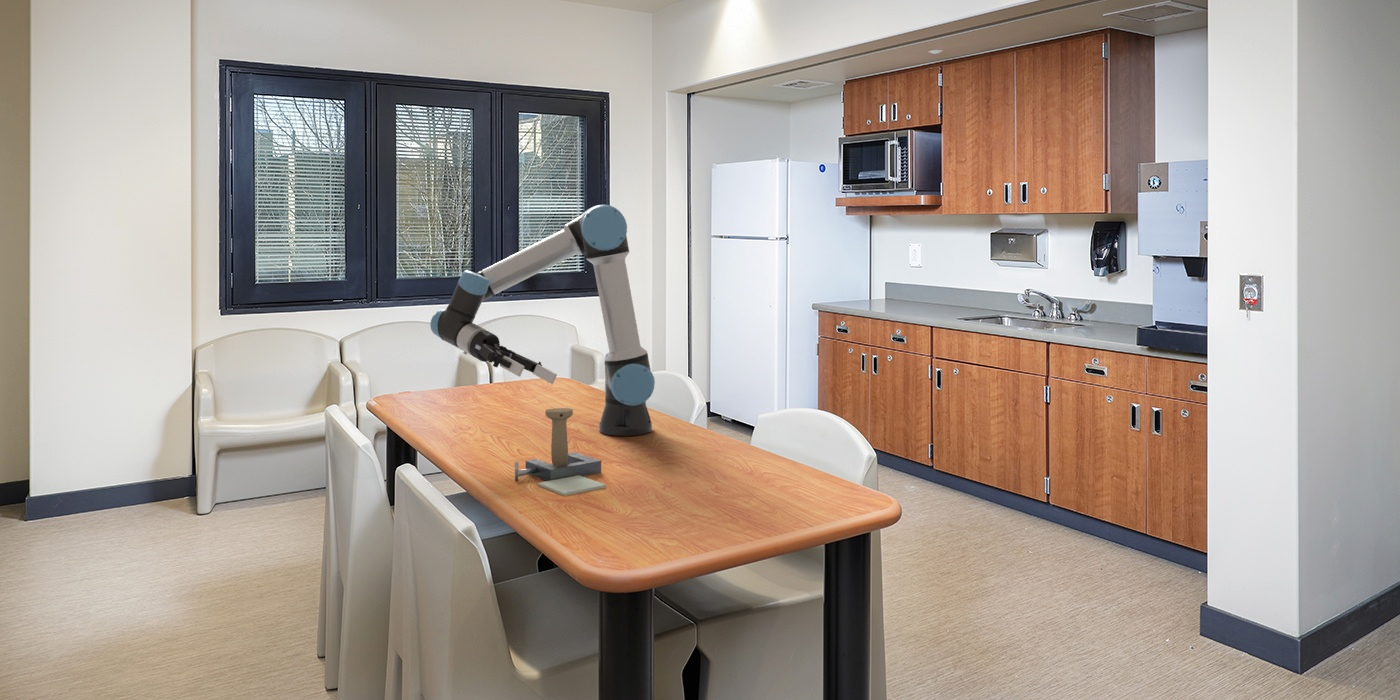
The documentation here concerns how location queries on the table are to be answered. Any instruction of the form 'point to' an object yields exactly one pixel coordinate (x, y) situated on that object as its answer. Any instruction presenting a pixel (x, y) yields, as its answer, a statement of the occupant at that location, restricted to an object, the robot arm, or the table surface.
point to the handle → (559, 434)
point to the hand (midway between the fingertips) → (538, 375)
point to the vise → (560, 468)
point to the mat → (572, 485)
